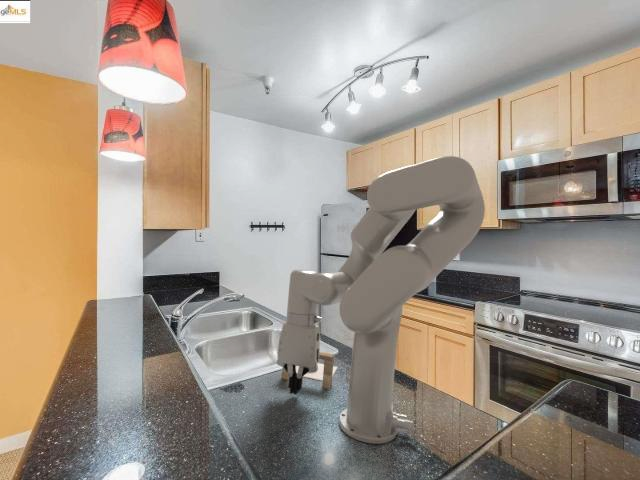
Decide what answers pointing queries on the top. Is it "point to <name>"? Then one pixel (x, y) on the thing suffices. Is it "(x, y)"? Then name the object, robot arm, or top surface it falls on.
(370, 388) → the robot arm
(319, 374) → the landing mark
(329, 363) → the bridge
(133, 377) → the top surface
